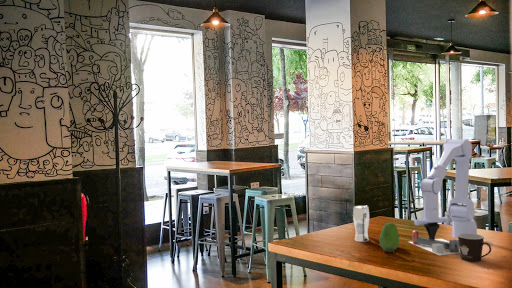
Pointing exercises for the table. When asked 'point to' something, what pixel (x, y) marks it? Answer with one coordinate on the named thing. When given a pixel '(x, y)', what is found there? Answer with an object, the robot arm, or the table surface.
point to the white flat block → (436, 248)
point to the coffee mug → (471, 247)
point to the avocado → (389, 237)
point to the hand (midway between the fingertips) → (431, 241)
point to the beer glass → (361, 223)
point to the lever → (451, 245)
